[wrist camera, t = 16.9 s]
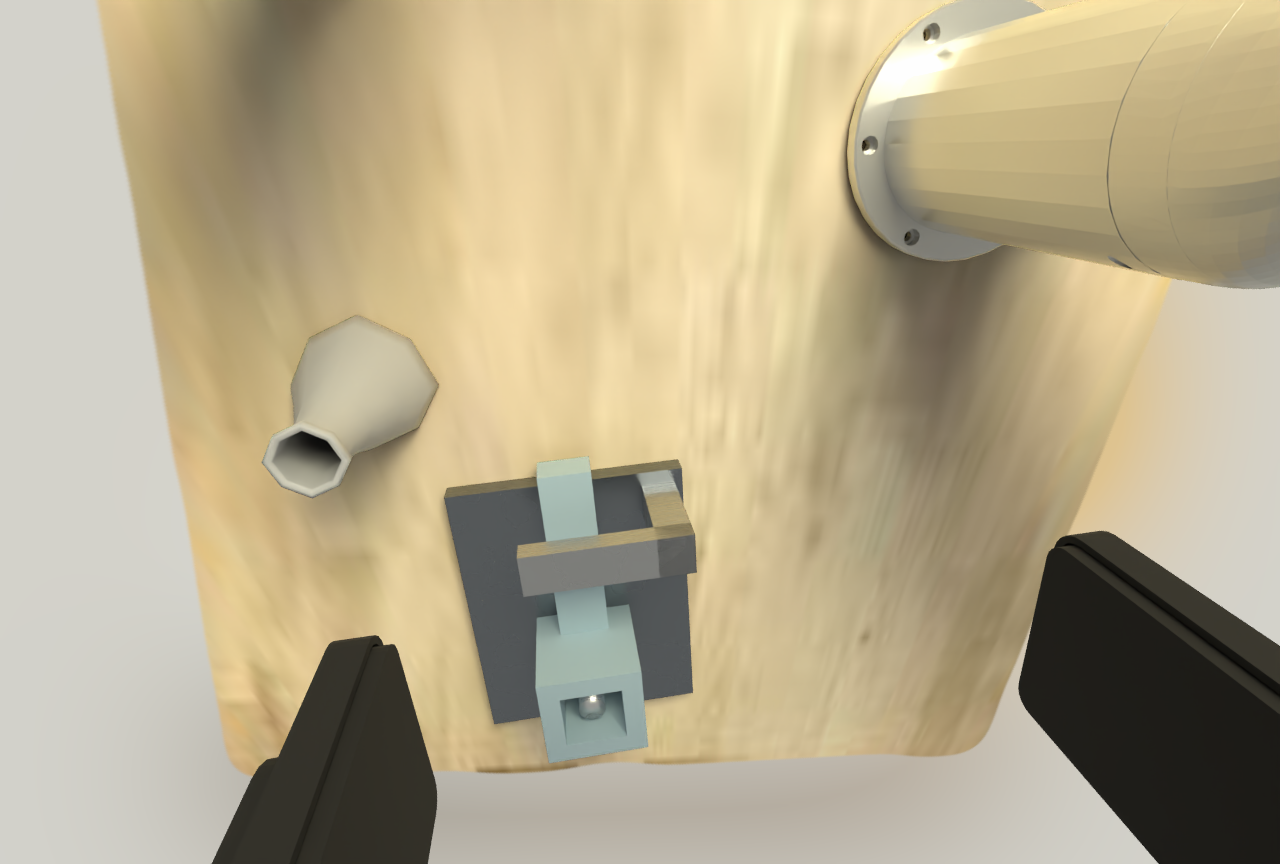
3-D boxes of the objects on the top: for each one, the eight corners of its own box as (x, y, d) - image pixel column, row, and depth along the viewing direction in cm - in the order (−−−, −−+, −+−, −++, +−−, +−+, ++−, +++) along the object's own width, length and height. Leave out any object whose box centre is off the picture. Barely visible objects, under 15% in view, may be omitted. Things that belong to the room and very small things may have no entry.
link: (635, 674, 45) (648, 746, 39) (548, 687, 44) (549, 763, 39) (614, 453, 38) (625, 504, 32) (510, 466, 37) (504, 519, 32)
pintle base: (677, 459, 40) (704, 519, 33) (689, 680, 47) (712, 765, 41) (447, 488, 38) (426, 557, 32) (495, 710, 46) (487, 803, 39)
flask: (355, 288, 33) (284, 339, 24) (463, 382, 36) (435, 460, 27) (267, 382, 35) (168, 464, 26) (377, 466, 37) (323, 567, 28)
